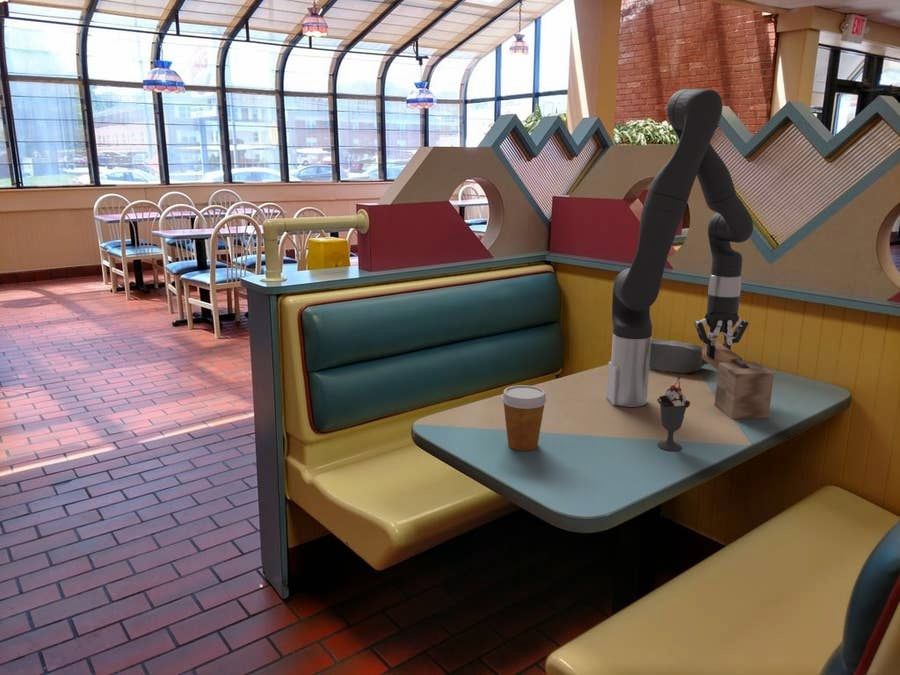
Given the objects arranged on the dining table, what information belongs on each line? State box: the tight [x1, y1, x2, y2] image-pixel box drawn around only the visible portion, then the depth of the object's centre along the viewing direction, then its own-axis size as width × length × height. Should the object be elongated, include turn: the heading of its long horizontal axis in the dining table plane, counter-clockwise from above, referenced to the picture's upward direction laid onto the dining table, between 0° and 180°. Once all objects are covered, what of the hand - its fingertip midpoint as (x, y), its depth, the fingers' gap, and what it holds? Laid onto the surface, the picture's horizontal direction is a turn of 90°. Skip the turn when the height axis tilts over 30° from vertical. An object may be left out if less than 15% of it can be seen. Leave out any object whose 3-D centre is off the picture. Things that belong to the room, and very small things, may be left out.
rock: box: [649, 338, 710, 374], centre depth 205 cm, size 18×11×8 cm, turn 58°
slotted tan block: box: [714, 361, 775, 420], centre depth 169 cm, size 9×9×11 cm
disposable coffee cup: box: [501, 384, 548, 452], centre depth 150 cm, size 10×10×12 cm
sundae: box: [656, 376, 691, 452], centre depth 149 cm, size 7×7×15 cm
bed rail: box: [702, 340, 746, 371], centre depth 179 cm, size 3×20×5 cm, turn 4°
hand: (717, 358), depth 183 cm, fingers closed on bed rail, 3 cm apart
